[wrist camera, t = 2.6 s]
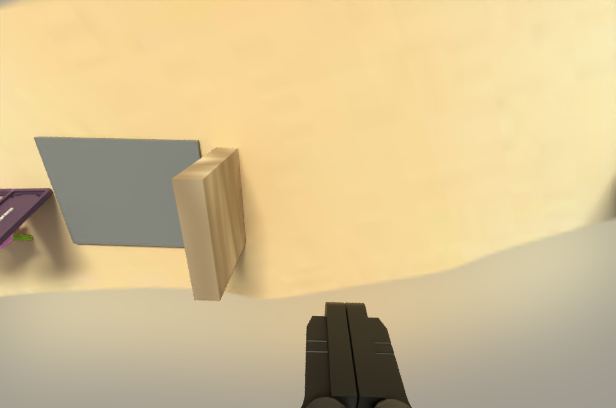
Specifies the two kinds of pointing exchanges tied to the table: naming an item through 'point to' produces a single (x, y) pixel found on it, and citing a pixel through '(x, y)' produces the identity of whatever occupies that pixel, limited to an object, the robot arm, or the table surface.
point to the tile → (211, 220)
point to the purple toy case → (18, 211)
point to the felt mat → (118, 187)
